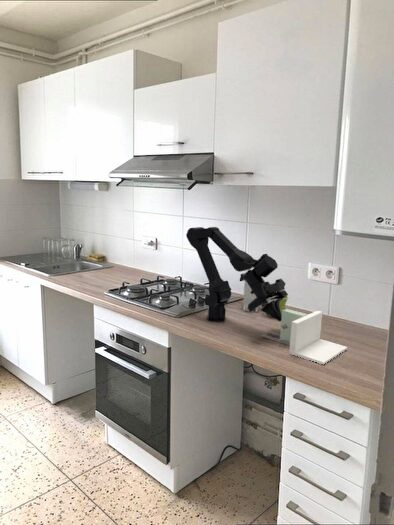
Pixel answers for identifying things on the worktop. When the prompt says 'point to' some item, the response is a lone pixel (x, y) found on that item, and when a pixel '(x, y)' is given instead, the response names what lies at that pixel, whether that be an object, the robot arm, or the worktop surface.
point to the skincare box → (248, 297)
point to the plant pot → (282, 304)
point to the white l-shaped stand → (309, 340)
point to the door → (288, 323)
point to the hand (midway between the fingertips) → (281, 320)
